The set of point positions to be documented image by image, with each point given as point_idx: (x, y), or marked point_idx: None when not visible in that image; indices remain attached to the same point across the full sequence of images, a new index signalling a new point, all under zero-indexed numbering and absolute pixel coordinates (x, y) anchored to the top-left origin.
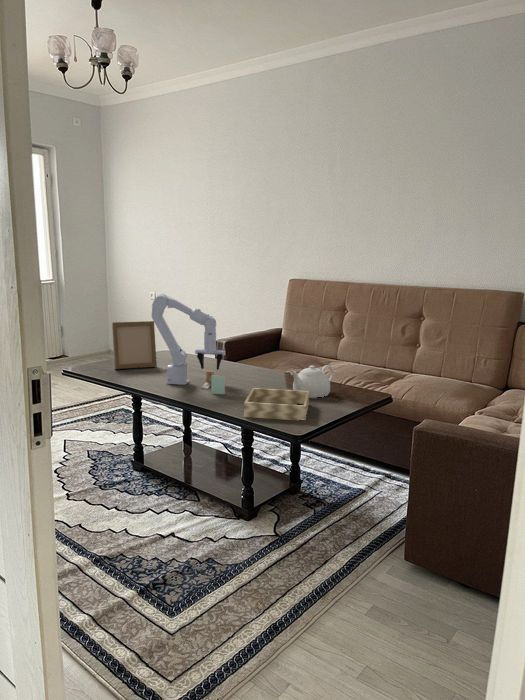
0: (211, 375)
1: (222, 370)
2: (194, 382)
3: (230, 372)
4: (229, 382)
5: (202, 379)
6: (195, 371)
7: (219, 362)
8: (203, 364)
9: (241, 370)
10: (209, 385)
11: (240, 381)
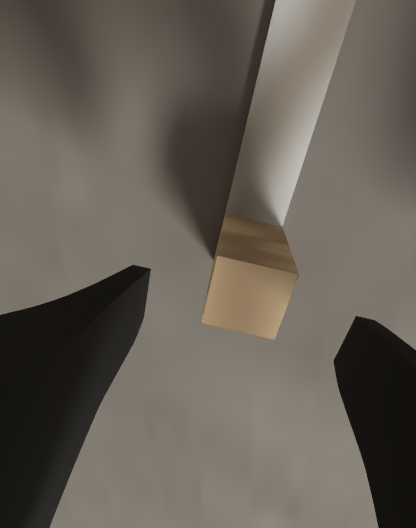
0: (230, 239)
1: (165, 510)
2: (387, 263)
3: (114, 475)
4: (82, 255)
5: (302, 347)
6: (329, 511)
7: (40, 307)
8: (353, 402)
9: (60, 500)
10: (256, 96)
11: (5, 282)
